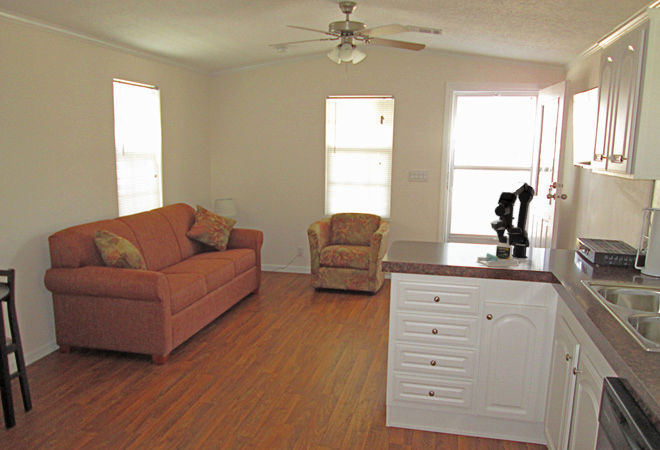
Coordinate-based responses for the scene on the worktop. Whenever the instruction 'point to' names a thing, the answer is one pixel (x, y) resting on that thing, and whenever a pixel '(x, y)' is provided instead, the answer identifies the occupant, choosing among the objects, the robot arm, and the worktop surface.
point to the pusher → (489, 257)
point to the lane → (498, 262)
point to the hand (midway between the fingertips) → (505, 243)
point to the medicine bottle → (504, 248)
